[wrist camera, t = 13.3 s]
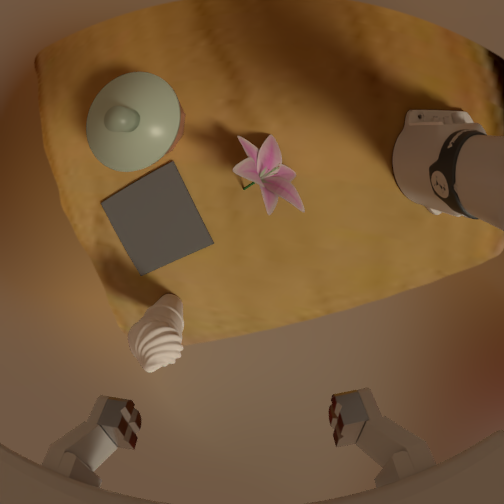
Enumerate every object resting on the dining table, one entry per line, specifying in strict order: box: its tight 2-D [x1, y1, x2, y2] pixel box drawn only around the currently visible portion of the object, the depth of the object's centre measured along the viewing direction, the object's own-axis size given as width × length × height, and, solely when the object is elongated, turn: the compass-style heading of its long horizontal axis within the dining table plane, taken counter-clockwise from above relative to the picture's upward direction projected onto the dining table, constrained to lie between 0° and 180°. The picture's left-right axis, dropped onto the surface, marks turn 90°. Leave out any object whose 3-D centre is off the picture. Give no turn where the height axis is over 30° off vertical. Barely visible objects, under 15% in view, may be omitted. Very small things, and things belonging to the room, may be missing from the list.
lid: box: [86, 72, 181, 172], centre depth 27 cm, size 13×13×5 cm
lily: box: [233, 135, 305, 215], centre depth 36 cm, size 12×12×10 cm
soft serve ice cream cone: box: [128, 294, 184, 373], centre depth 40 cm, size 8×8×16 cm
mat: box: [101, 161, 214, 276], centre depth 41 cm, size 14×14×1 cm
